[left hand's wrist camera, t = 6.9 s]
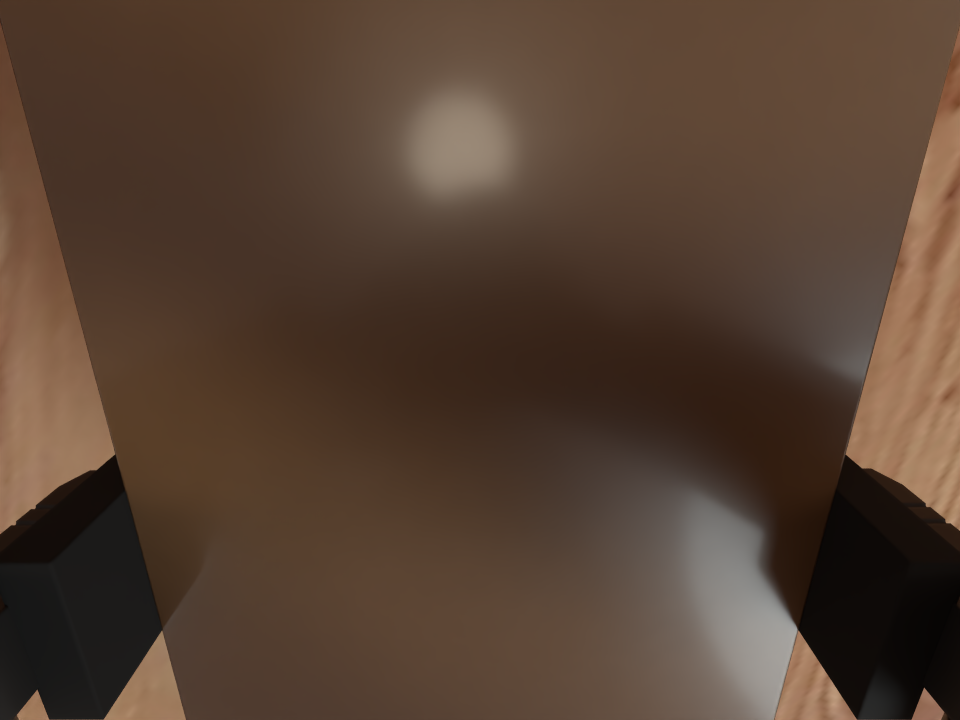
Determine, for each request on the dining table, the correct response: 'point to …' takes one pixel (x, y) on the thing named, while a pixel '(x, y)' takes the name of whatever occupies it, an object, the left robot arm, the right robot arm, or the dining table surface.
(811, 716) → the dining table surface
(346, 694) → the cabinet
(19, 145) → the dining table surface
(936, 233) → the dining table surface
